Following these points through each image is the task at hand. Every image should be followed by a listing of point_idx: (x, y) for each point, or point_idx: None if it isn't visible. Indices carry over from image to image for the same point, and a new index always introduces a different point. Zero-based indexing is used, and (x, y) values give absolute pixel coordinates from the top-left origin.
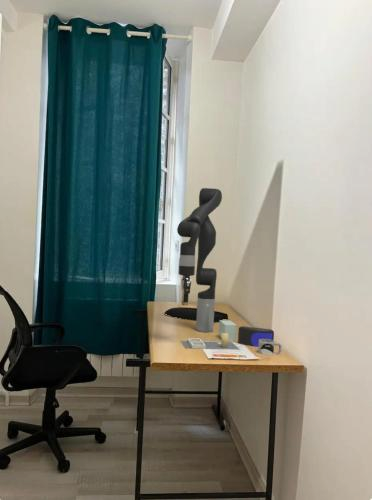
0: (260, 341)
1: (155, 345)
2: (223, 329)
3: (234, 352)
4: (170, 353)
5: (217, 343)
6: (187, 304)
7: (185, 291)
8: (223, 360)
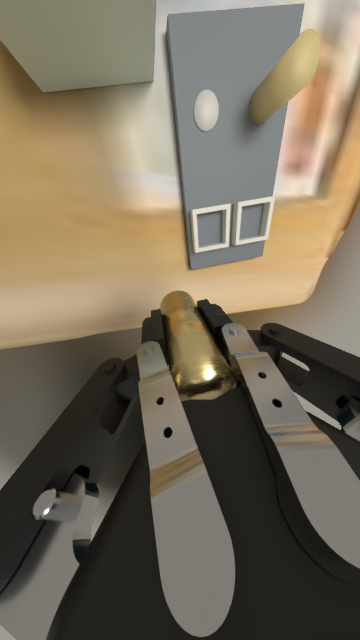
0: None
1: None
2: (117, 20)
3: None
4: (263, 283)
5: (208, 131)
6: (187, 294)
7: (284, 359)
8: (350, 144)
